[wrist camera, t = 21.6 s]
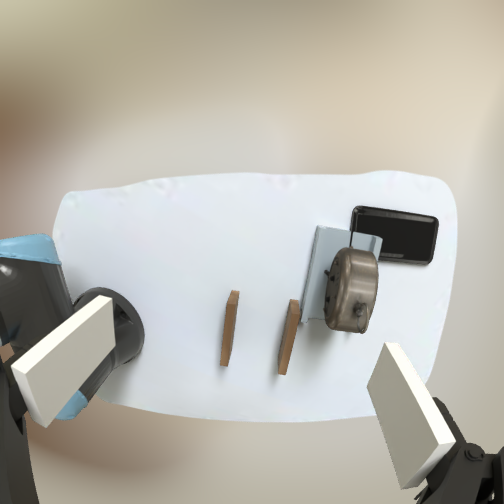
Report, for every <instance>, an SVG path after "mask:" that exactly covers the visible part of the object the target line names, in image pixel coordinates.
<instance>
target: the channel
mask: <svg viewBox="0 0 504 504" xmlns="http://www.w3.org/2000/svg"><path fill="white" fill-rule="evenodd" d="M238 299H239V291H233V290H232V291H231V294H230V297H229V299H228V302H227V307H226V315H225V324H224V333H223V342H222V351H221V360H220V365H222V366H227V367H228V363H229V359H230V355H231V351H232V345H233V337H234V329H235V322H236V314H237V306H238ZM299 318H300V310H299V304H298V300H292V299H290V304H289V309H288V314H287V318H286V323H285V328H284V333H283V337H282V342H281V346H280V351H279V355H278V374H281V375H286V372H287V368H288V364H289V360H290V356H291V352H292V347H293V343H294V339H295V335H296V331H297V326H298V322H299Z"/></svg>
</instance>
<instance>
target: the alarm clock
mask: <svg viewBox="0 0 504 504" xmlns="http://www.w3.org/2000/svg"><path fill="white" fill-rule="evenodd" d="M324 273H325V274H326V275H327V276H328V281H327V286H326V292H325V302H324V308H323V311H324V317H325V322H326V324H327V326H328V327H329V328H330V329H332V330H337V331H345V332H353V333H360V334H363V333H365V332H366V330H367V328H368V324H369V320H370V317H371V315H372V312H373V308H374V305H375V301H376V295H377V289H378V276H379V274H378V264H377V260H376V257H375V255H374V253H373V252H371V251H366V250H360V249H354V248H353V246H350V247H344V248H342V249H340V250H339V251H338V252H337V254H336V255H335V257H334V259H333V262H332V265H331V268H330V272H329V271H328V270H324ZM363 329H364V330H363ZM362 330H363V331H362Z"/></svg>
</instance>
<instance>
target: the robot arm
mask: <svg viewBox="0 0 504 504" xmlns="http://www.w3.org/2000/svg"><path fill="white" fill-rule="evenodd" d="M61 265H62V263H61V261H59V258H58V255H57V251H56V248H55V244H54V241H53V240H52V238H51V237H49V236H48V235H46V234H33V235H26V236H19V237H13V238H8V239H3V240H0V347H2V346H4V345H5V344H7V343H9V342H10V345H11V347H12V349H13V351H14V355H13V356H12V357H11V358H9V359H8V360H7V361H6V362H5V363H3V362H2V359H1V356H0V504H39V500H38V496H37V492H36V488H35V483H34V479H33V473H32V468H31V461H30V455H29V448H28V440H27V431H26V421H25V417H24V414H25V412H26V411H27V410H28V412H29V414H30V416H31V418H32V420H33V421H35V422H37V423H38V424H40V425H42V426H43V427H45V428H47V427H48V426H49V424H50V423H51V422H52V420H53V419H54V418H56V419H59V420H71V419H73V418H75V417H76V416H77V415H78V414H79V412H80V411H81V410H82V409H83V408H85V407H86V406H87V405H88V402H89V401H90V400H91V398H92V397H93V396H94V394H95V393H96V392H97V390H98V389H99V387H100V386H101V385H102V383H103V382H104V381H105V379H106V378H107V377H108V375H109V374H110V373H111V371H112V370H113V369H115V368H117V367H118V366H120V365H121V364H125V363H127V362H129V361H131V360H132V359H133V358H134V357H135V356H136V355H137V354H138V352H139V351H140V350H141V348H142V346H143V343H144V328H143V324H142V321H141V319H140V317H139V315H138V313H137V311H136V310H135V308H134V307H133V306H132V305H131V304H130V302H129V301H128V300H127V299H125V298H124V297H123V296H122V295H120V294H119V293H117V292H115V291H113V290H110V289H107V288H102V287H97V288H92V289H90V290H88V291H86V292H85V293H83V294H82V295H81V296H79V297H78V298H77V300H76V301H75V303H74V305H73V304H72V301H71V298H70V295H69V292H68V288H67V285H66V282H65V278H64V274H63V271H62V267H61ZM367 389H368V392H369V395H370V397H371V400H372V403H373V406H374V408H375V411H376V414H377V417H378V420H379V423H380V426H381V428H382V431H383V434H384V437H385V440H386V443H387V446H388V449H389V453H390V456H391V459H392V462H393V465H394V468H395V471H396V475H397V478H398V481H399V485H400V488H401V489H408V488H413V487H418V486H419V485H420V483H421V482H422V481H423V480H424V479H425V478H426V480H427V483H428V485H427V486H426V487H425V488H424V489H423V490H422V491H421V492H420V493H419V494H418V495H417V496H416V497H415V498H414V499H415V500H417V499H418V498H419V497H420V498H419V500H418V501H417V503H416V504H504V447H502V449H501V450H500V451H499V452H498V454H485V452H484V450H483V449H482V448H481V447H480V446H478V445H476V444H473V443H466V440H465V439H464V437H463V435H462V433H461V432H460V430H459V428H458V426H457V425H456V423H455V421H453V418H452V416H451V415H450V414H449V411H448V410H447V408H446V406H445V404H444V403H442V402H441V401H440V400H439V399H438V398H436V397H433V398H432V397H431V396H430V394H429V392H428V391H427V389H426V387H425V385H424V384H423V382H422V381H421V379H420V377H419V376H418V374H417V372H416V371H415V369H414V367H413V366H412V364H411V363H410V361H409V359H408V358H407V356H406V355H405V353H404V352H403V350H402V348H401V347H400V345H399V344H398V343H387V342H385V343H384V345H383V348H382V351H381V353H380V356H379V358H378V361H377V363H376V366H375V368H374V371H373V373H372V375H371V378H370V380H369V382H368V385H367ZM493 493H494V499H493V500H492V494H493Z"/></svg>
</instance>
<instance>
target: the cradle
mask: <svg viewBox="0 0 504 504" xmlns="http://www.w3.org/2000/svg"><path fill="white" fill-rule="evenodd" d="M350 237H351V231H349V230H343V229H337V228H331V227H325V226H320V225H318V226H317V231H316V237H315V242H314V248H313V253H312V258H311V263H310V268H309V273H308V278H307V283H306V288H305V292H304V297H303V302H302V306H301V311H300V321H301V322H304V323H307V321H308V318H315V319H323V320H325V317H324V311H323V308H324V302H325V292H326V286H327V281H328V276H327V275H326V274H325V273H324V270H328V271H329V272H330V268H331V265H332V262H333V259H334V257H335V255H336V254H337V252H338V251H339V250H340V249H342V248H344V247H349V244H350ZM382 240H383V239H382V238H380V237H378V236H373V235H368V234H362V233H357V232H353V237H352V244H351V246H353V248H354V249H360V250H366V251H371V252H373V253H374V255H375V257H376V260H377V262H378V257H379V253H380V249H381V244H382Z"/></svg>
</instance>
